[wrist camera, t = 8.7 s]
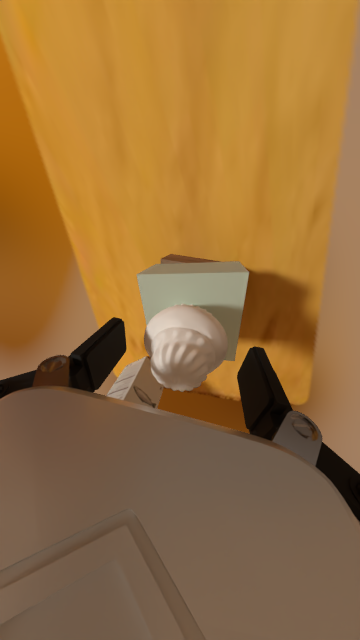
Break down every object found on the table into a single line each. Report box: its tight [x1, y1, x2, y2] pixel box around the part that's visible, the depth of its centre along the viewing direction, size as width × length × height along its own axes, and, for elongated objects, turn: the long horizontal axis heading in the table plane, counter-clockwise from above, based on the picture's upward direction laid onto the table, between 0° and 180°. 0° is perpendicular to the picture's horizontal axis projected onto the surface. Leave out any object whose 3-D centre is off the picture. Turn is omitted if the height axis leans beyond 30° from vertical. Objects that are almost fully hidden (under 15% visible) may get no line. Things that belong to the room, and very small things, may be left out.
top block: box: [137, 261, 249, 361], centre depth 16 cm, size 9×9×5 cm
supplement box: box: [106, 356, 164, 409], centre depth 29 cm, size 7×7×13 cm
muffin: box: [144, 304, 228, 392], centre depth 11 cm, size 6×6×7 cm
